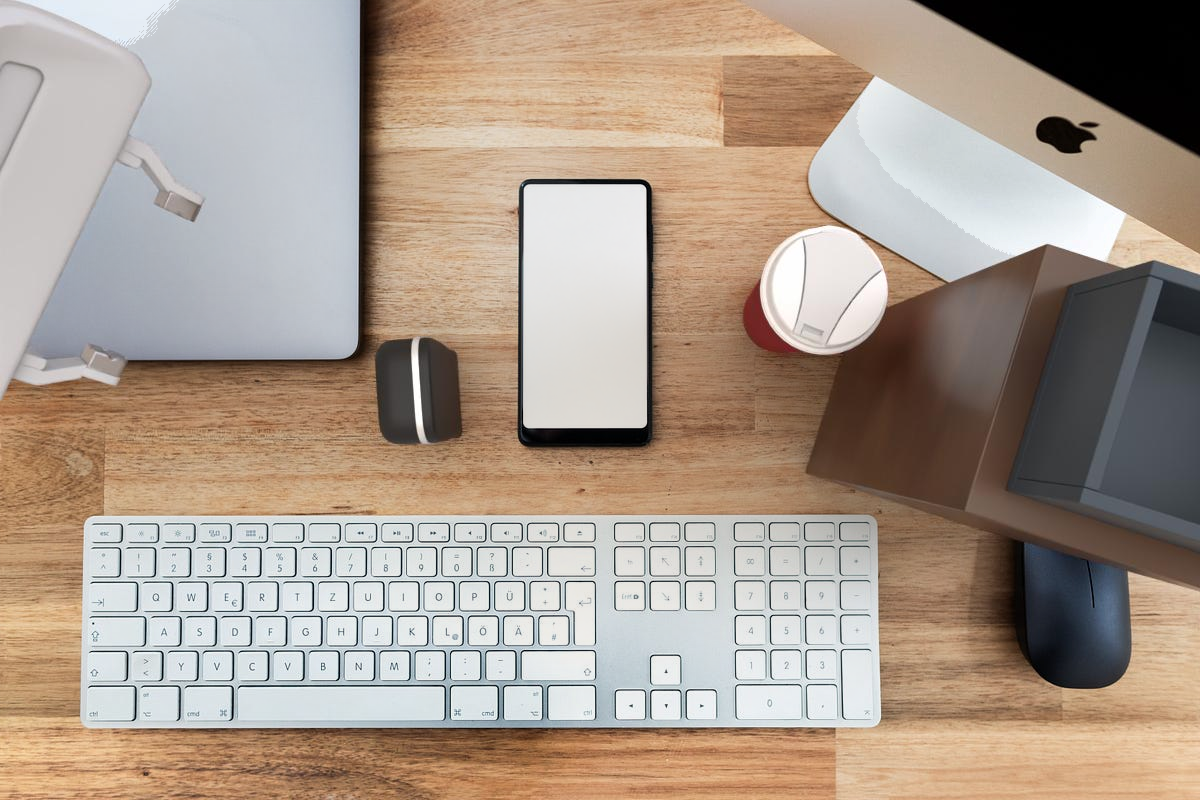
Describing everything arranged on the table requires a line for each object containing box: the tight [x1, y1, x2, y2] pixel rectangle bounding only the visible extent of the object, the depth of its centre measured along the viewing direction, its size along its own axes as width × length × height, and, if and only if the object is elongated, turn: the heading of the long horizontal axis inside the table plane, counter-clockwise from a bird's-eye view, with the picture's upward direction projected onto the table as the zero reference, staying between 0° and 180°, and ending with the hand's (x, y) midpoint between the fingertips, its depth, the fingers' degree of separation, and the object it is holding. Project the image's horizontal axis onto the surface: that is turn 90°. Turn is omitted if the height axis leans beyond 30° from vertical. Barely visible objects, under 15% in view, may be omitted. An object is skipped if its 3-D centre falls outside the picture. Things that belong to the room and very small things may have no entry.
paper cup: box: [742, 224, 889, 355], centre depth 58 cm, size 8×8×14 cm
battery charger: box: [374, 335, 463, 446], centre depth 59 cm, size 7×4×11 cm, turn 4°
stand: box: [805, 243, 1200, 593], centre depth 50 cm, size 12×14×28 cm
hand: (159, 289), depth 46 cm, fingers open, 8 cm apart
